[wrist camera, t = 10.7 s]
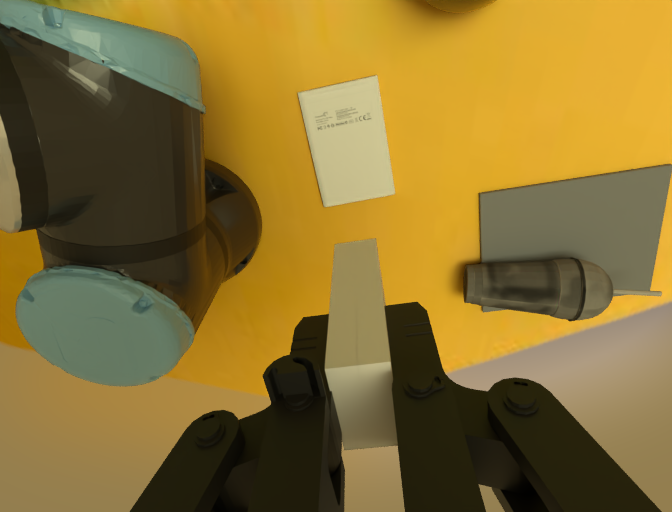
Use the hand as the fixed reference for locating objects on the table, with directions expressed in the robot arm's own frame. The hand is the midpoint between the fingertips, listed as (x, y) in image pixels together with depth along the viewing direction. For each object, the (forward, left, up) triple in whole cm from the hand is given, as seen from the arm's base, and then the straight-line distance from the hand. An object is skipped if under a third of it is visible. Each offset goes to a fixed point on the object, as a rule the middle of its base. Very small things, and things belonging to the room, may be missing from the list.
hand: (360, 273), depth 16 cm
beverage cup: (+10, -20, -30) cm, 38 cm away
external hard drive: (-1, -2, -33) cm, 33 cm away
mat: (+22, -18, -32) cm, 43 cm away
